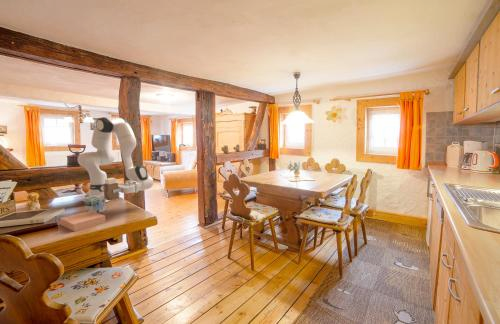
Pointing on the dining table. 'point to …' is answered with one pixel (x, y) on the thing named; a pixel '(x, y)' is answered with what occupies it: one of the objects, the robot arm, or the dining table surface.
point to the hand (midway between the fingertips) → (109, 190)
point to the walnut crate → (110, 191)
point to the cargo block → (110, 181)
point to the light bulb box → (95, 204)
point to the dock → (82, 220)
